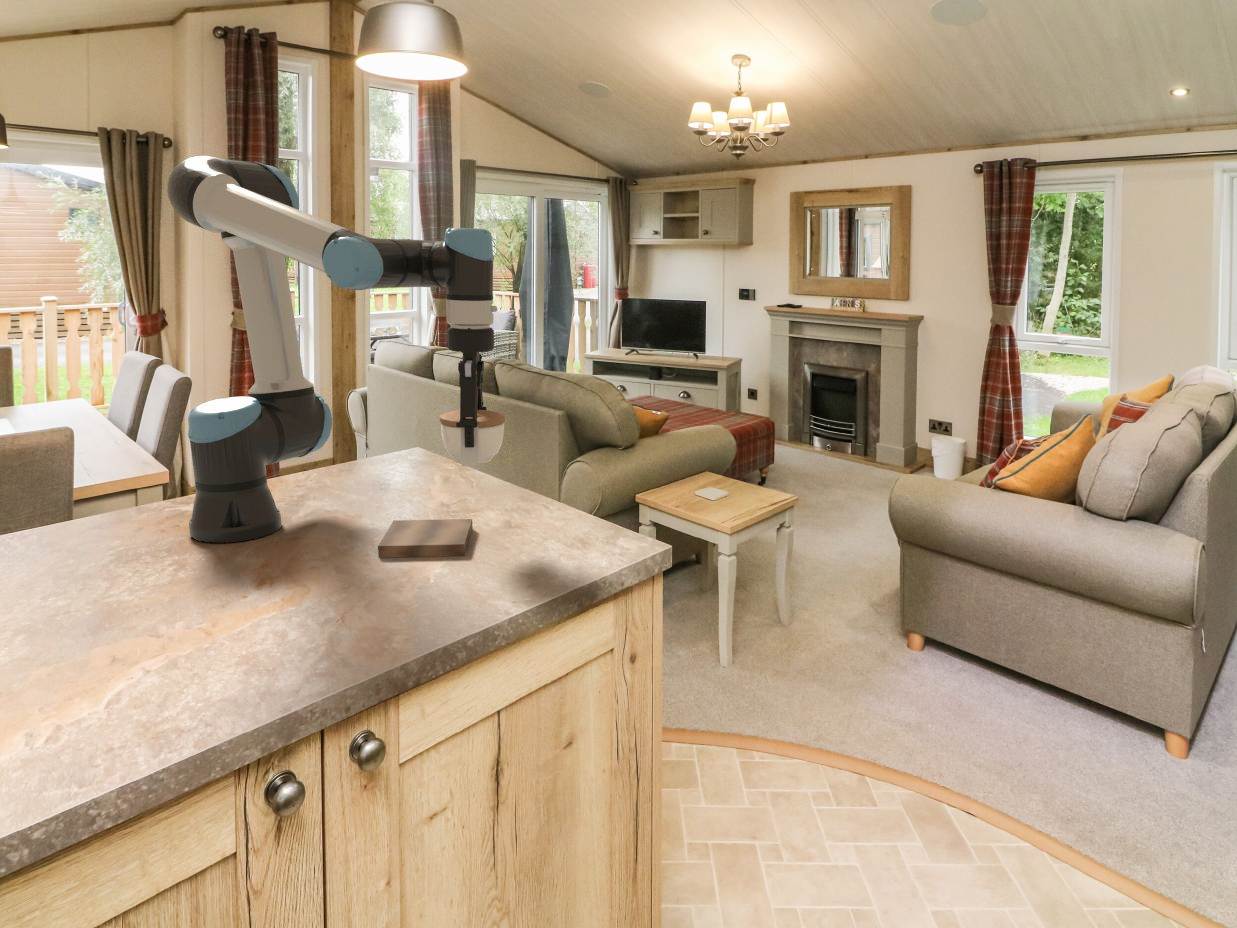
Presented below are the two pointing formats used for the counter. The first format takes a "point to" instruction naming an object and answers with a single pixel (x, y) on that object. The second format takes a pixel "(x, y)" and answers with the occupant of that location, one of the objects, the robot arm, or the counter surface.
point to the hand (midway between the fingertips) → (472, 457)
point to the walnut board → (426, 538)
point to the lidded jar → (487, 434)
